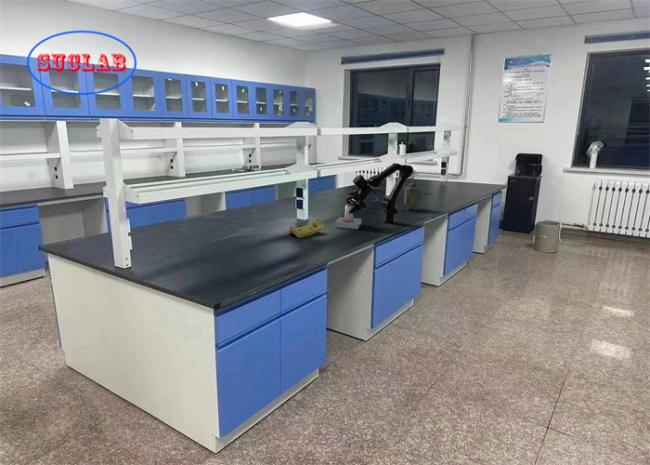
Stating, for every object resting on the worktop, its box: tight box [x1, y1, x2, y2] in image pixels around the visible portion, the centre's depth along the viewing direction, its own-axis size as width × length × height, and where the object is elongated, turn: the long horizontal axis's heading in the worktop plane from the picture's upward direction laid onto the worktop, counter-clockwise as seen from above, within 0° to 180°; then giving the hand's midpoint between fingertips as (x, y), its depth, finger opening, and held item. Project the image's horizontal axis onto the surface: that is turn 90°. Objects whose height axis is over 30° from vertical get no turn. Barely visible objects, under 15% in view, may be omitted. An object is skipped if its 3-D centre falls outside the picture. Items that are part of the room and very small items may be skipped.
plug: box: [344, 203, 354, 222], centre depth 263 cm, size 5×5×12 cm
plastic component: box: [287, 218, 325, 239], centre depth 243 cm, size 20×7×10 cm
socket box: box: [334, 216, 362, 230], centre depth 264 cm, size 14×14×4 cm
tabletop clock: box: [403, 176, 421, 212], centre depth 316 cm, size 14×9×25 cm, turn 179°
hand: (346, 212), depth 262 cm, fingers open, 7 cm apart
